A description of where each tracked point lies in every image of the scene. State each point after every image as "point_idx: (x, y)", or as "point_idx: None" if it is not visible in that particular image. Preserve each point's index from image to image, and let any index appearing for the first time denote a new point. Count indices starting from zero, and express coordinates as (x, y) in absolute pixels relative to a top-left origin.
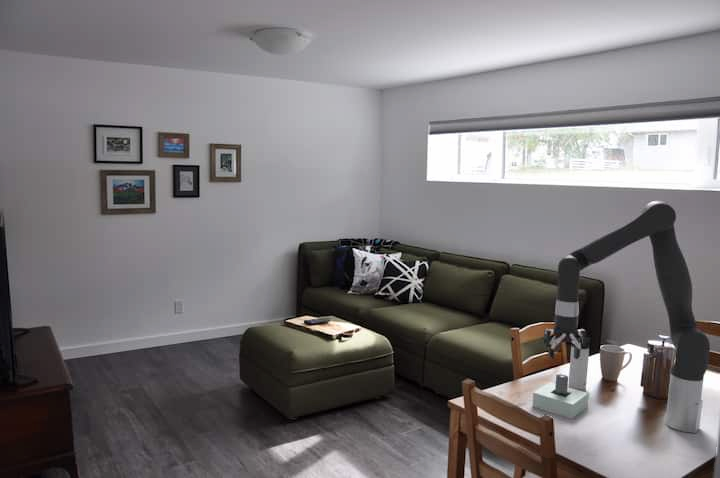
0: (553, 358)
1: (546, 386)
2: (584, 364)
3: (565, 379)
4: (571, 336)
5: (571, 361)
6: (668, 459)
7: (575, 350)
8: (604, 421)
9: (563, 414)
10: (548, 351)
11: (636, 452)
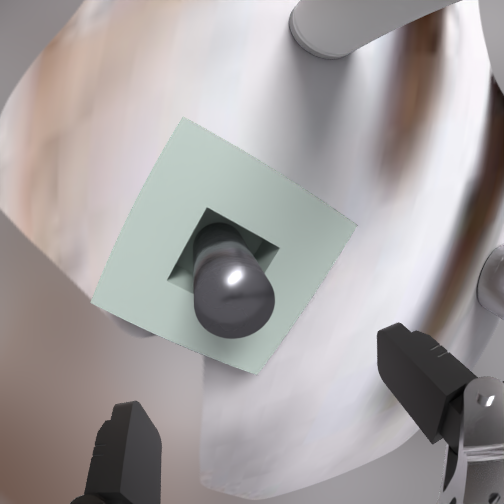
0: (156, 445)
1: (153, 195)
2: (413, 19)
3: (250, 330)
4: None
5: None
6: (396, 430)
7: (424, 404)
8: (349, 322)
9: None
10: (91, 460)
11: (353, 436)
